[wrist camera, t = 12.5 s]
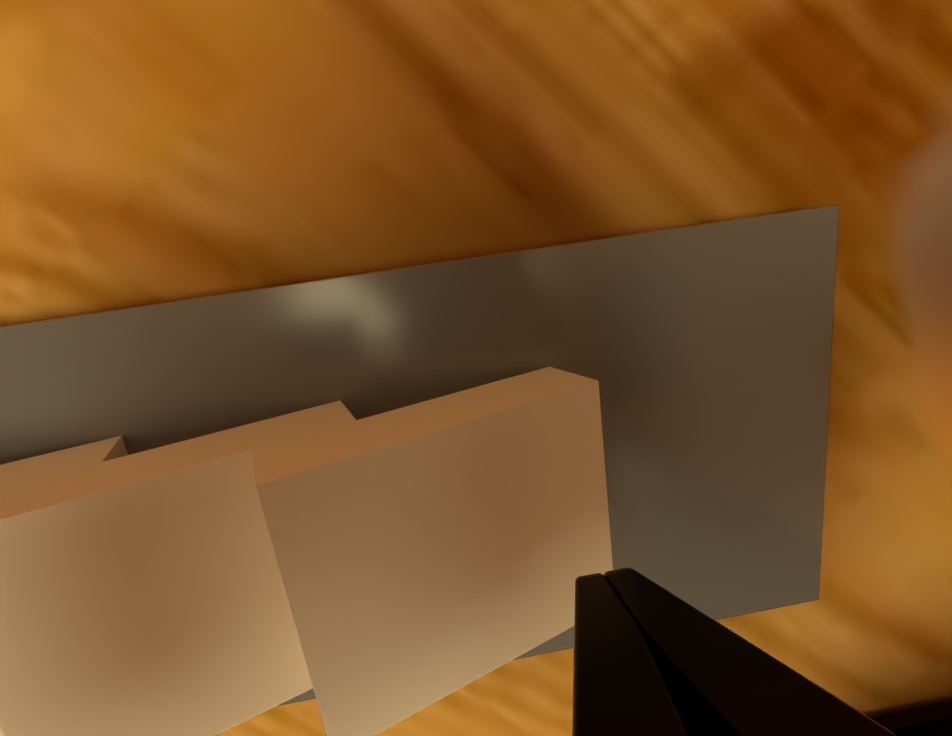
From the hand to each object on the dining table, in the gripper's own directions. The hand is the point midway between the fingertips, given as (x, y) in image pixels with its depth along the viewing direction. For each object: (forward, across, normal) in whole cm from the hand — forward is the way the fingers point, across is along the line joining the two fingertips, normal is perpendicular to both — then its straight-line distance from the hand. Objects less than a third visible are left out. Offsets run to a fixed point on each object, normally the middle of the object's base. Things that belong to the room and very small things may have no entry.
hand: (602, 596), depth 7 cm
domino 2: (+3, -1, 0) cm, 3 cm away
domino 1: (+3, +4, 0) cm, 5 cm away
